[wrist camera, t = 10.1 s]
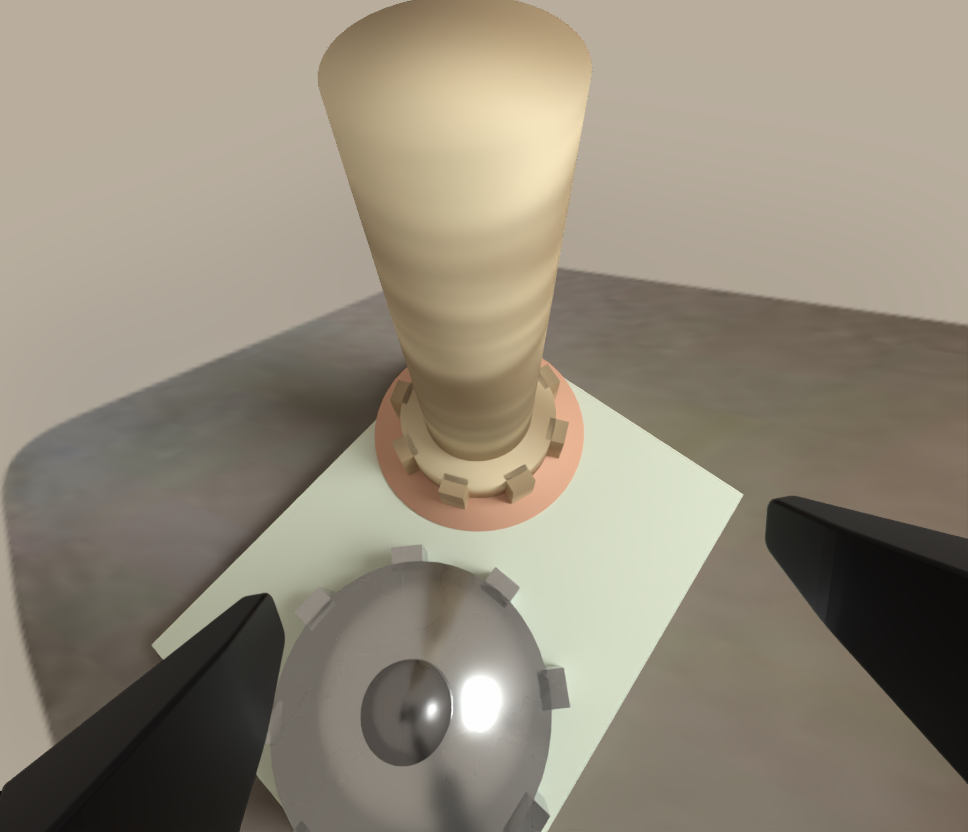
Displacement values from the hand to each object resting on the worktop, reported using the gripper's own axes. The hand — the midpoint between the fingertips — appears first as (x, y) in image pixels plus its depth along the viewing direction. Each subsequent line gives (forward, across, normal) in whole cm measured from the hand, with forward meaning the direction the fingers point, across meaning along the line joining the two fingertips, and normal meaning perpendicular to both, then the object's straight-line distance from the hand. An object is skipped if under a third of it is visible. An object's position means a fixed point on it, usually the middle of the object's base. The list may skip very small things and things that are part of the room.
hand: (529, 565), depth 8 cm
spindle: (+10, 0, +1) cm, 11 cm away
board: (+8, +1, +6) cm, 10 cm away
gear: (+4, +4, +8) cm, 9 cm away
